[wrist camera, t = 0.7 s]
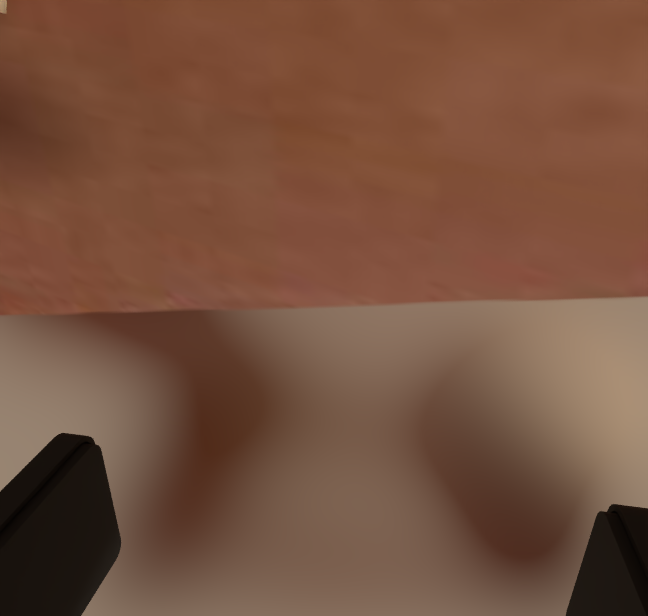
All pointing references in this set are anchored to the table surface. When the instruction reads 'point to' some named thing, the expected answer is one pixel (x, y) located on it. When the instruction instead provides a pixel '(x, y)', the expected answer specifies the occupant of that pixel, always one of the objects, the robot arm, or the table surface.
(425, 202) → the table surface
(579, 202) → the table surface
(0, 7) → the maple block
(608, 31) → the table surface
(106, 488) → the robot arm
